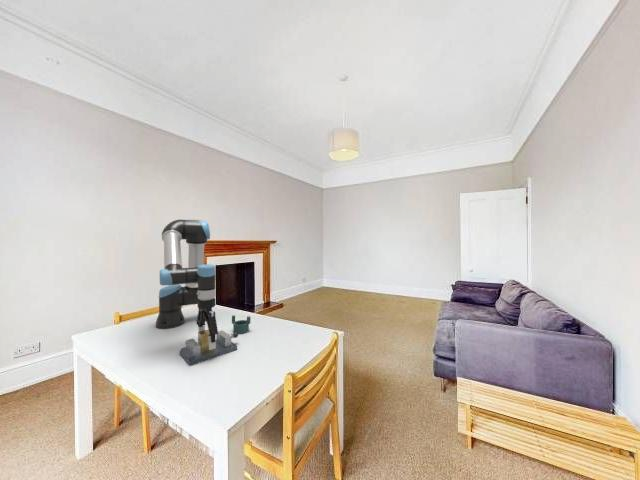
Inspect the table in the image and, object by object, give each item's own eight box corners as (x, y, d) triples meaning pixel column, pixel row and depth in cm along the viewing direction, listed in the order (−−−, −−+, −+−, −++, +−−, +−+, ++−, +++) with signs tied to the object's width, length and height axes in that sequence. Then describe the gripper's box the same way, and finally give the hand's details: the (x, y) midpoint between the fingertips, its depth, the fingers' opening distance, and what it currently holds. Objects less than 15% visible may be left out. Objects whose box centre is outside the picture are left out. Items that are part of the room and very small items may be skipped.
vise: (179, 354, 113) (179, 340, 113) (224, 340, 128) (224, 328, 128) (189, 366, 103) (189, 350, 103) (237, 349, 118) (237, 336, 118)
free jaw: (216, 340, 123) (216, 331, 123) (233, 335, 129) (233, 327, 129) (225, 347, 116) (225, 337, 116) (242, 341, 122) (242, 332, 122)
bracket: (251, 332, 139) (251, 316, 139) (234, 335, 135) (234, 319, 135) (247, 327, 147) (247, 312, 147) (231, 330, 142) (231, 314, 142)
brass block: (198, 349, 114) (198, 332, 114) (211, 345, 118) (211, 328, 118) (201, 352, 111) (201, 334, 111) (214, 347, 115) (214, 331, 115)
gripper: (189, 295, 120) (189, 338, 121) (208, 305, 103) (208, 356, 104) (205, 292, 126) (205, 334, 126) (226, 302, 108) (226, 350, 109)
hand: (206, 344), depth 115 cm, fingers open, 12 cm apart
